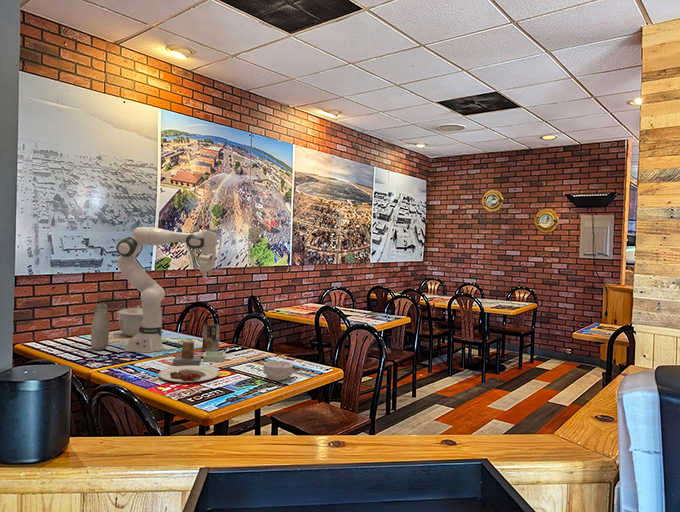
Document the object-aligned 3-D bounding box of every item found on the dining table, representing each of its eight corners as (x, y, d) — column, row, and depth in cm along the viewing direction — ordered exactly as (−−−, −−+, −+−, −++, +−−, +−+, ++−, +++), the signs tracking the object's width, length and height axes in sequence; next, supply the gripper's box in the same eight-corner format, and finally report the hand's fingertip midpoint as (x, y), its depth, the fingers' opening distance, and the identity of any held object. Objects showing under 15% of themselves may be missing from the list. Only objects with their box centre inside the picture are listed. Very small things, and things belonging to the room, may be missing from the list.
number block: (187, 359, 273) (188, 341, 273) (181, 357, 276) (182, 340, 276) (193, 358, 277) (194, 340, 276) (187, 356, 279) (188, 339, 279)
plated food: (197, 365, 274) (197, 359, 274) (231, 377, 255) (231, 371, 255) (146, 375, 251) (146, 368, 250) (179, 389, 232) (180, 381, 231)
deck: (173, 365, 270) (173, 360, 270) (175, 361, 280) (176, 355, 280) (199, 365, 273) (199, 360, 273) (201, 361, 283) (201, 356, 283)
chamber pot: (131, 340, 325) (132, 309, 325) (107, 334, 340) (108, 305, 340) (167, 335, 349) (168, 306, 348) (143, 329, 364) (144, 302, 363)
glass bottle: (93, 352, 290) (94, 305, 289) (88, 348, 298) (90, 302, 297) (110, 350, 297) (112, 304, 296) (105, 347, 304) (107, 302, 303)
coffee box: (219, 349, 314) (220, 324, 314) (215, 351, 308) (216, 326, 308) (205, 348, 315) (206, 323, 315) (201, 350, 309) (202, 325, 308)
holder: (202, 361, 282) (203, 356, 282) (204, 356, 294) (204, 351, 294) (224, 362, 284) (224, 356, 284) (225, 357, 296) (225, 351, 296)
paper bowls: (296, 376, 262) (296, 361, 262) (286, 384, 248) (287, 368, 247) (269, 373, 266) (269, 358, 266) (258, 380, 251) (259, 365, 251)
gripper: (208, 252, 315) (207, 273, 317) (198, 256, 295) (196, 279, 297) (218, 253, 315) (216, 274, 317) (208, 257, 295) (207, 280, 297)
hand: (206, 276), depth 307 cm, fingers open, 8 cm apart
